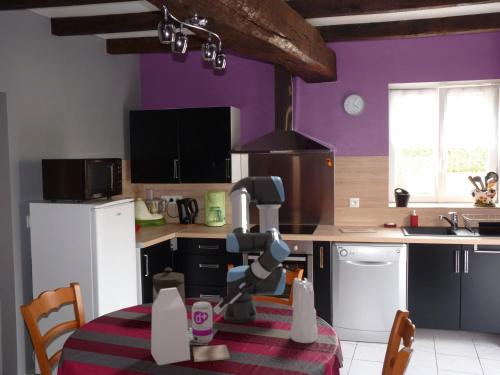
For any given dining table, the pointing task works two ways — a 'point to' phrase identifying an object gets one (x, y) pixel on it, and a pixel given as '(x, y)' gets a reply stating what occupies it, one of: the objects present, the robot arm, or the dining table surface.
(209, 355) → the beige cloth
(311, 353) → the dining table surface
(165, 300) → the milk
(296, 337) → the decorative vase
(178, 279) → the wooden container
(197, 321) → the supplement can
